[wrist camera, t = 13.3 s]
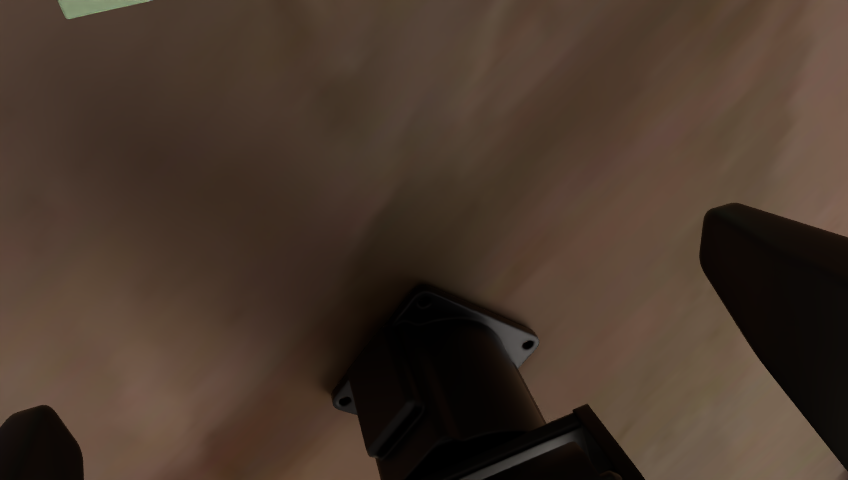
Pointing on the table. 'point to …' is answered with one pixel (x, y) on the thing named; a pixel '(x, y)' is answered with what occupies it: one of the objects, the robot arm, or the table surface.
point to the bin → (92, 6)
